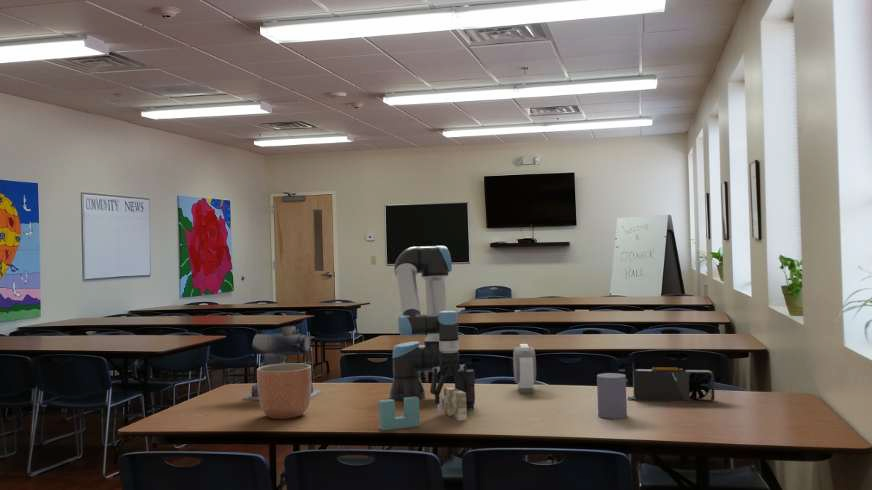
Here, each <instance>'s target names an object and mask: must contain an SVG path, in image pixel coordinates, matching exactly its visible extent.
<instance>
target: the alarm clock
mask: <svg viewBox="0 0 872 490" xmlns="http://www.w3.org/2000/svg"><path fill="white" fill-rule="evenodd" d="M512 355H513V357H512V361H513V362H512V364H513V367H512V368H513V377H514V382H515V383H516V384H517V387H518V388H519V389H518V391H519V390H520V391H519V392H520V393H522V394H523V393H525V394H526V393H533V389H534V386H535V382H536V381H537V360H536V351H535V347H534V346H529V345H528V343H520V344H519V346H515V347H513V353H512Z"/></svg>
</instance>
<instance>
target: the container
mask: <svg viewBox="0 0 872 490" xmlns="http://www.w3.org/2000/svg"><path fill="white" fill-rule="evenodd" d="M626 378H627V376H626V374H624V373H617V372H616V373H615V372H604V373H598V374H597V375H596V386H597V387H596V388H597V416H598V417H600V418H602V417H603V419H606V418H609V419H608V420H610V419H611V420H619V418H621V419H624V418H626V417H628V405H627V379H626Z"/></svg>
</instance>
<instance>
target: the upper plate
mask: <svg viewBox="0 0 872 490" xmlns="http://www.w3.org/2000/svg"><path fill="white" fill-rule="evenodd" d="M443 397H444V398H443V399H444V402H443V403H444V404H443V405H444V406H443V407H444V414H445V415H447V416H448V417H452V415H454V416H453V419H454V418H455V419H454V420H456V421H458V422H462V421H467V419H468V416H467V415H468V413H467V410H468V409H466V393H465V392H463V391H461V390H458V389H456V388H455V387H453V386H445V387H443ZM461 420H462V421H461Z"/></svg>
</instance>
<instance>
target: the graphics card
mask: <svg viewBox="0 0 872 490" xmlns="http://www.w3.org/2000/svg"><path fill="white" fill-rule="evenodd" d="M634 364H635V363H634V362H632V383H633V384H632V387H633V390H632V391H633V396H627V400H634V399H635V400H636V401H638V400H639V401H638V402H670V401H684V403H713V402H714V401H715V399H716V397H715V375H714V373H713V372H712V371H711V370H709V369H701V370H700V369H685V370H684V369H683V368H679V367H676V366H675V367H671V366H670V367H668V366H667V367H665V366H662V367H661V366H660V367H658V366H656V367H655V366H653V367H651V369H645V368H643V369H641V368H640V369H639V368H638V369H636V368H635V369H634ZM708 395H709V396H708ZM709 397H710V398H709Z"/></svg>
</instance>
